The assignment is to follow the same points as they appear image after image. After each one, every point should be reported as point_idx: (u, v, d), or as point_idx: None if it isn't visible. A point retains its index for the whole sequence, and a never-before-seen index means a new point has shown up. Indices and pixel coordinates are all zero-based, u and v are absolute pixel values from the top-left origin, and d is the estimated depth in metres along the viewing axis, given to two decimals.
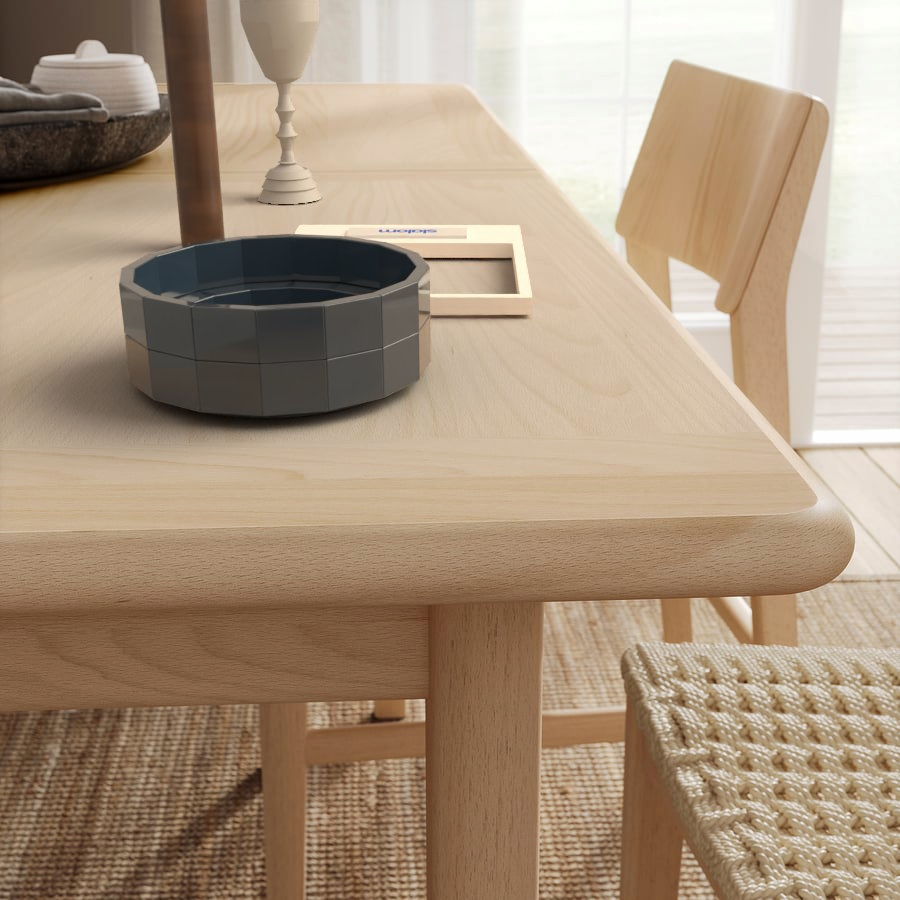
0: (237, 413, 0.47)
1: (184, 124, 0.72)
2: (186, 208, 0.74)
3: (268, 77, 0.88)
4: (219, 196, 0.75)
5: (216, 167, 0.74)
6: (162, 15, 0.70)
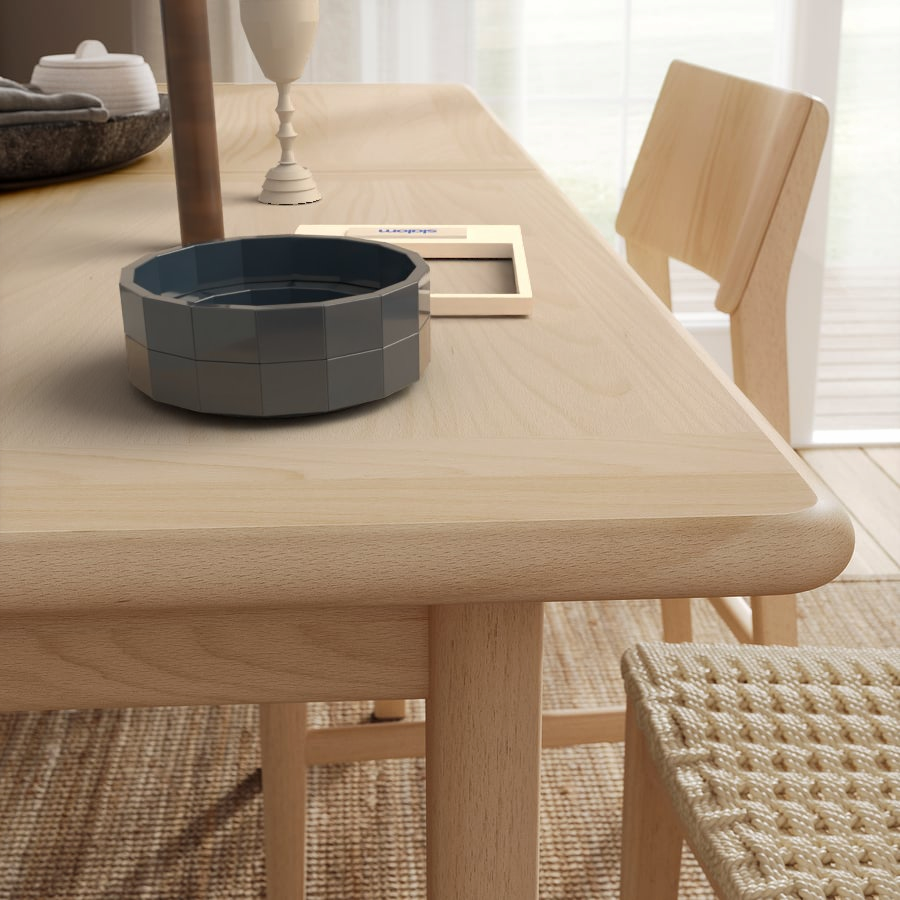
0: (237, 413, 0.47)
1: (184, 124, 0.72)
2: (186, 208, 0.74)
3: (268, 77, 0.88)
4: (219, 196, 0.75)
5: (216, 167, 0.74)
6: (162, 15, 0.70)
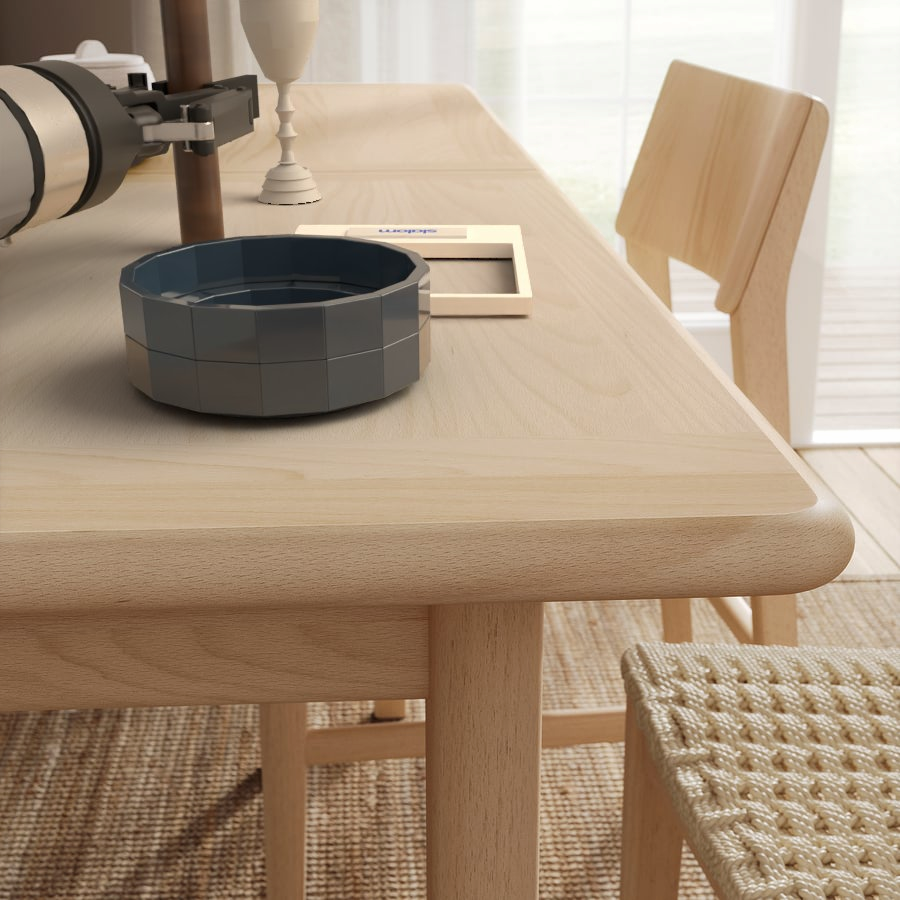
0: (237, 413, 0.47)
1: None
2: (186, 208, 0.74)
3: (268, 77, 0.88)
4: (219, 196, 0.75)
5: (216, 167, 0.74)
6: (162, 15, 0.70)
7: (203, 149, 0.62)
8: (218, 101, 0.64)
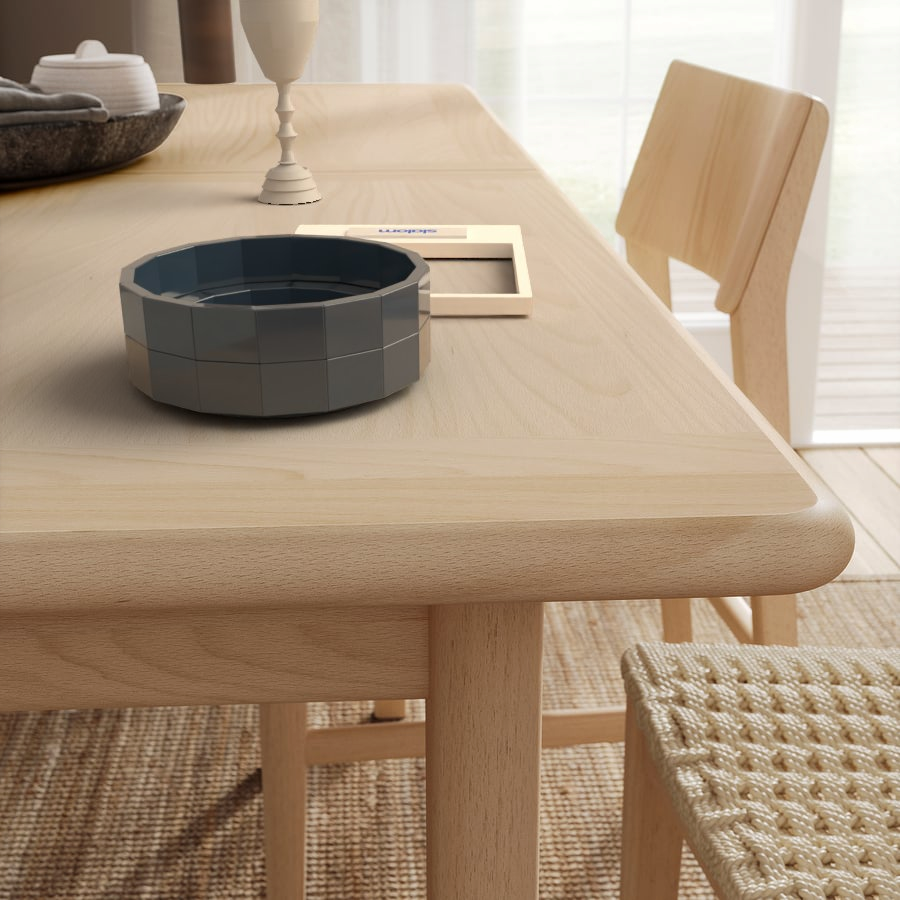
0: (237, 413, 0.47)
1: None
2: (189, 29, 0.61)
3: (268, 77, 0.88)
4: (229, 16, 0.62)
5: None
6: None
7: None
8: None
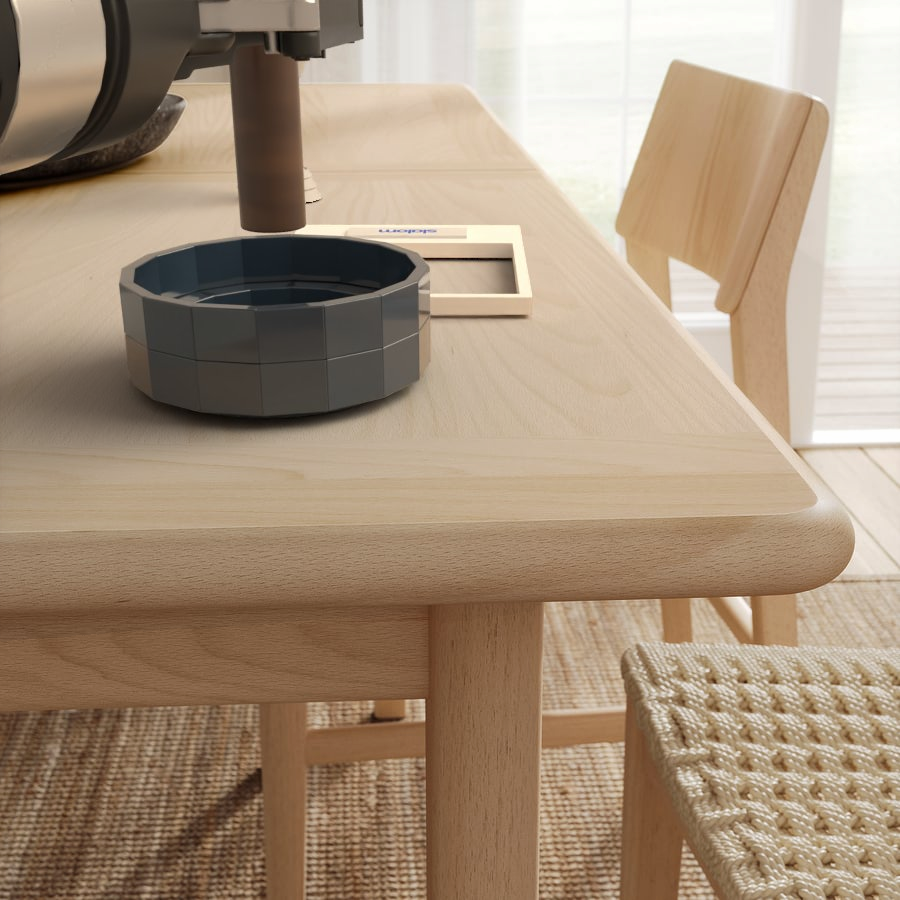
0: (237, 413, 0.47)
1: None
2: (249, 165, 0.48)
3: None
4: (300, 147, 0.49)
5: (296, 102, 0.48)
6: None
7: (302, 47, 0.36)
8: None
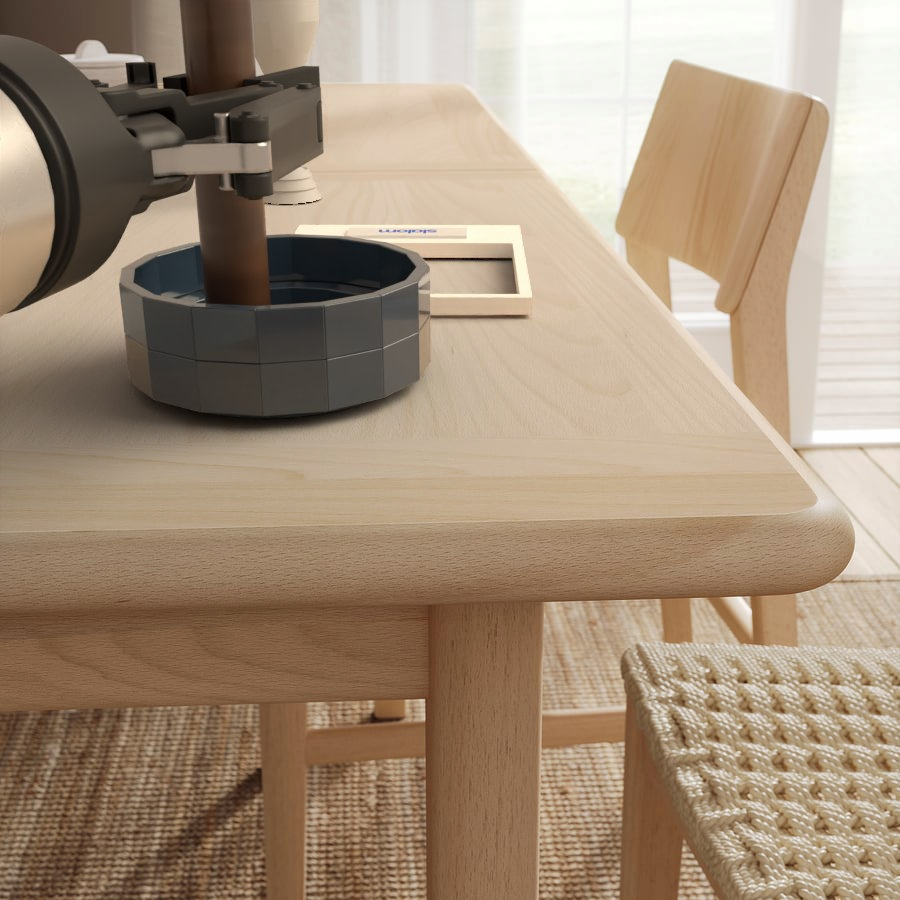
0: (237, 413, 0.47)
1: None
2: (214, 268, 0.49)
3: None
4: (264, 249, 0.50)
5: (260, 206, 0.49)
6: None
7: (254, 188, 0.37)
8: (276, 106, 0.39)
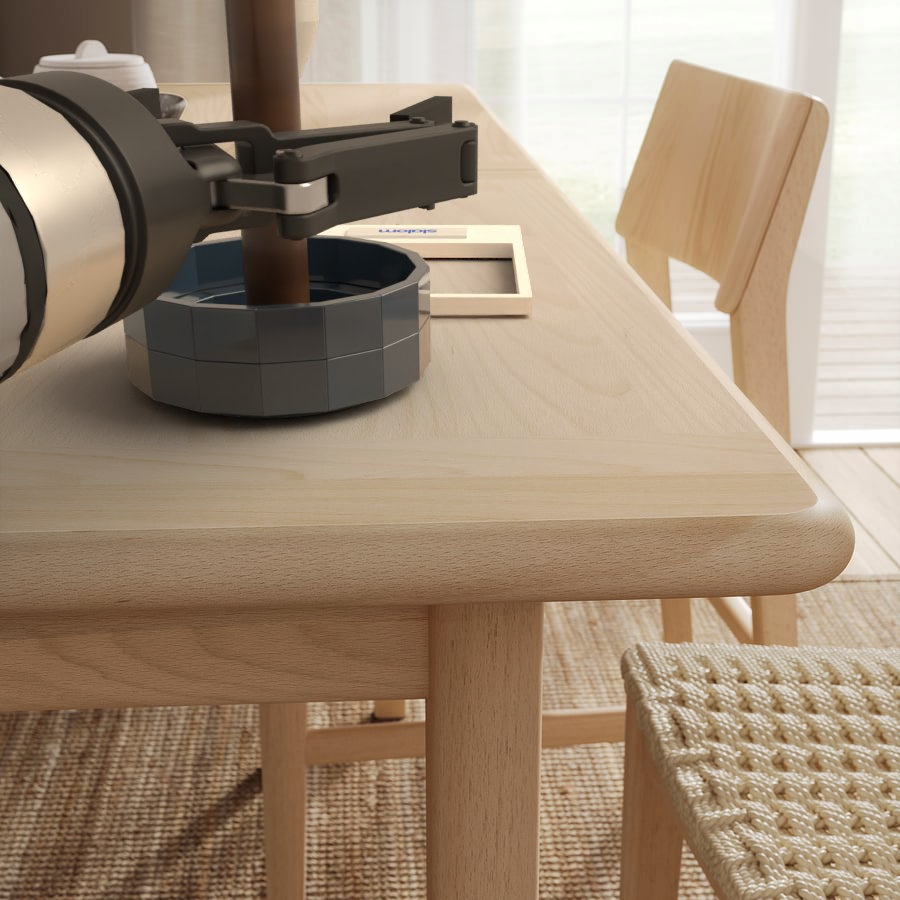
0: (237, 413, 0.47)
1: None
2: None
3: None
4: (307, 292, 0.51)
5: (304, 251, 0.50)
6: (229, 28, 0.46)
7: (286, 229, 0.36)
8: (359, 146, 0.38)
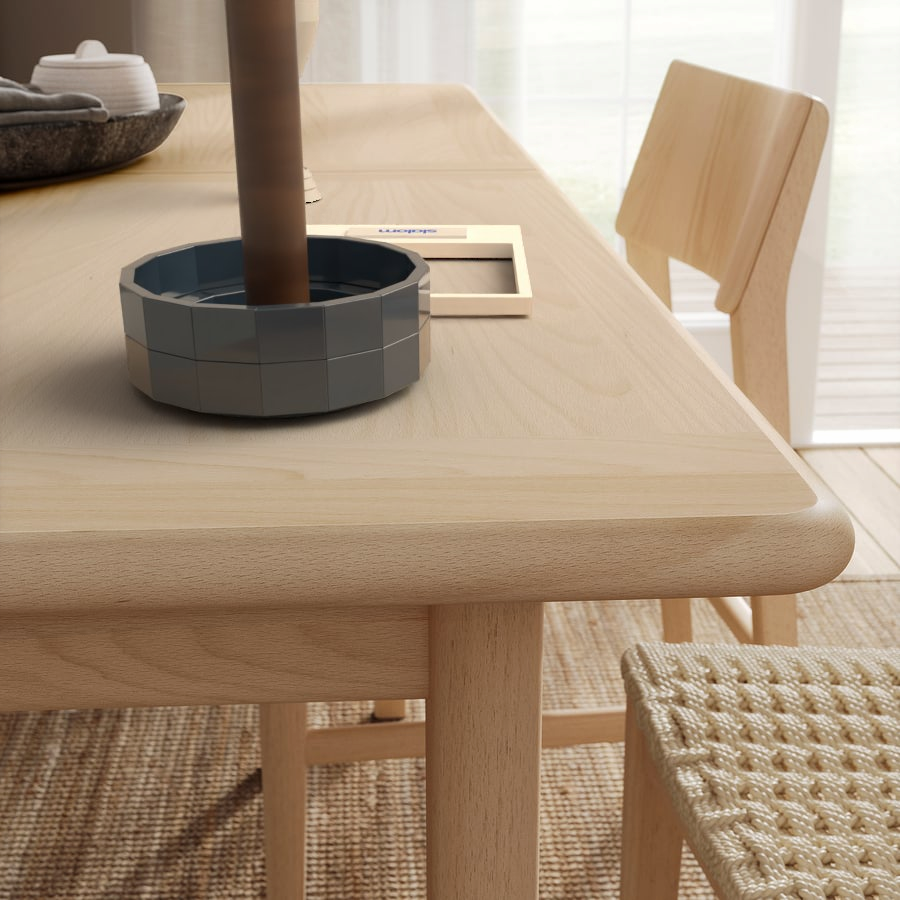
0: (237, 413, 0.47)
1: (260, 189, 0.48)
2: None
3: None
4: (307, 292, 0.51)
5: (304, 251, 0.50)
6: (229, 28, 0.46)
7: None
8: None
